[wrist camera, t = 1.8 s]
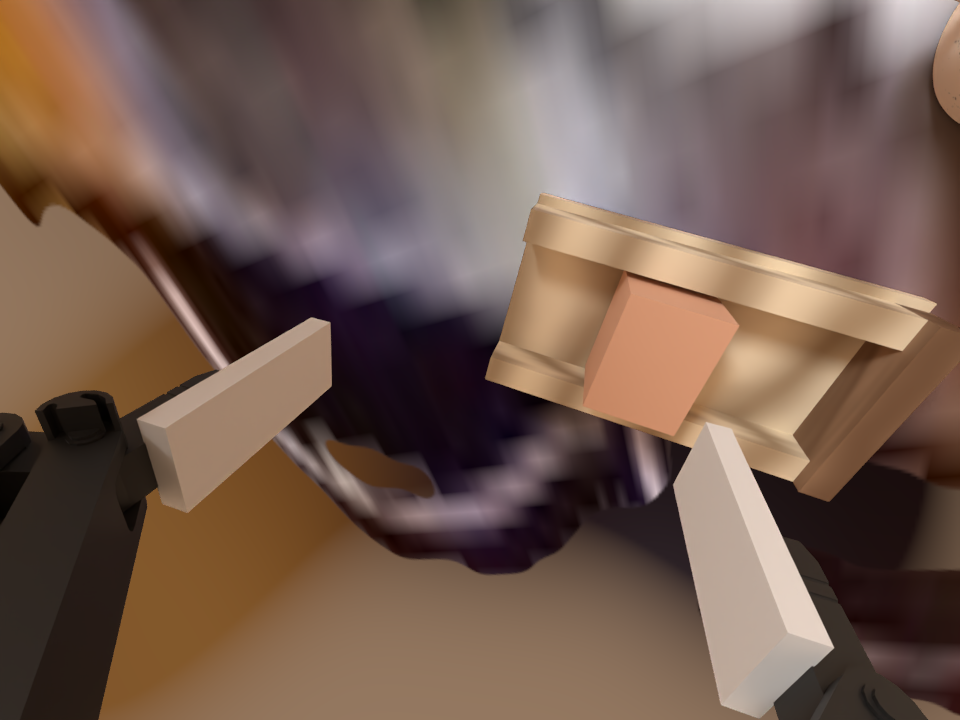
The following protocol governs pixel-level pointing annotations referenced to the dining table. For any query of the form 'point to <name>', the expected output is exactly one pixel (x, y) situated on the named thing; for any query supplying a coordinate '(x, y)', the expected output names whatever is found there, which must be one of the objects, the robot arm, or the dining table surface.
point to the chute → (732, 340)
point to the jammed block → (655, 352)
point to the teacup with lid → (949, 67)
